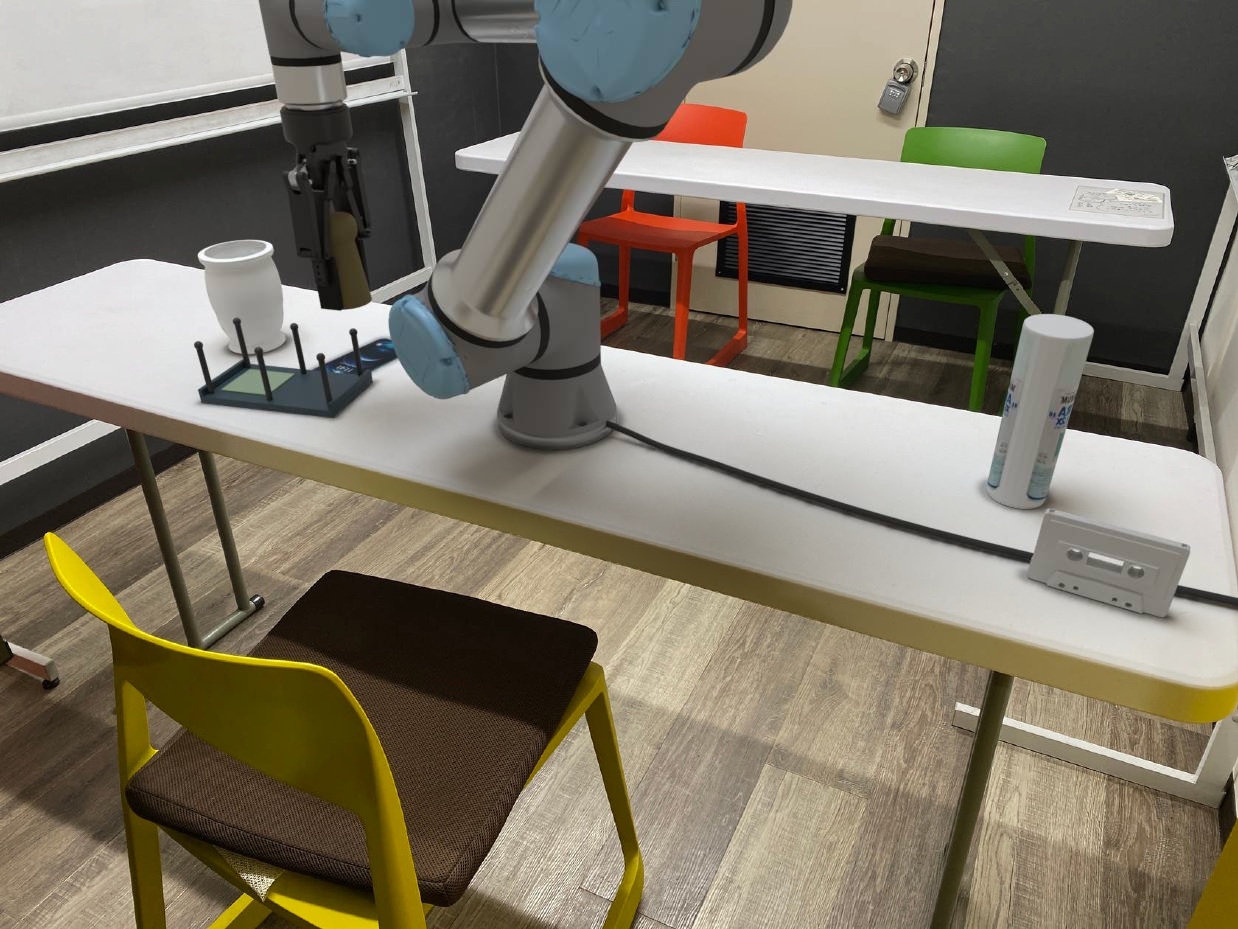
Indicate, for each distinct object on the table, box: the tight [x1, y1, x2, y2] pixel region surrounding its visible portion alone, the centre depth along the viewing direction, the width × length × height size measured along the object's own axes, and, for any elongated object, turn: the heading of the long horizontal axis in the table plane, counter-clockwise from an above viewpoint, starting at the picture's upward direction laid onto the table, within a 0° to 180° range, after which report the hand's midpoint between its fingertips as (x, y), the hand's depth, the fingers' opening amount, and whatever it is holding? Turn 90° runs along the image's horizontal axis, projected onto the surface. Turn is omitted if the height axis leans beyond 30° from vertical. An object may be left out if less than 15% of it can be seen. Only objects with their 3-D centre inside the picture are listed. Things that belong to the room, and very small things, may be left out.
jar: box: [197, 239, 287, 355], centre depth 135 cm, size 11×10×15 cm
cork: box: [330, 210, 373, 311], centre depth 110 cm, size 6×6×11 cm
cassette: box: [1027, 508, 1191, 618], centre depth 83 cm, size 12×2×8 cm, turn 59°
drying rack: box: [193, 318, 374, 419], centre depth 122 cm, size 20×11×9 cm, turn 76°
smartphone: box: [312, 338, 398, 375], centre depth 134 cm, size 8×1×15 cm
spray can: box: [986, 313, 1095, 510], centre depth 95 cm, size 6×6×20 cm
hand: (346, 298), depth 113 cm, fingers closed on cork, 6 cm apart
